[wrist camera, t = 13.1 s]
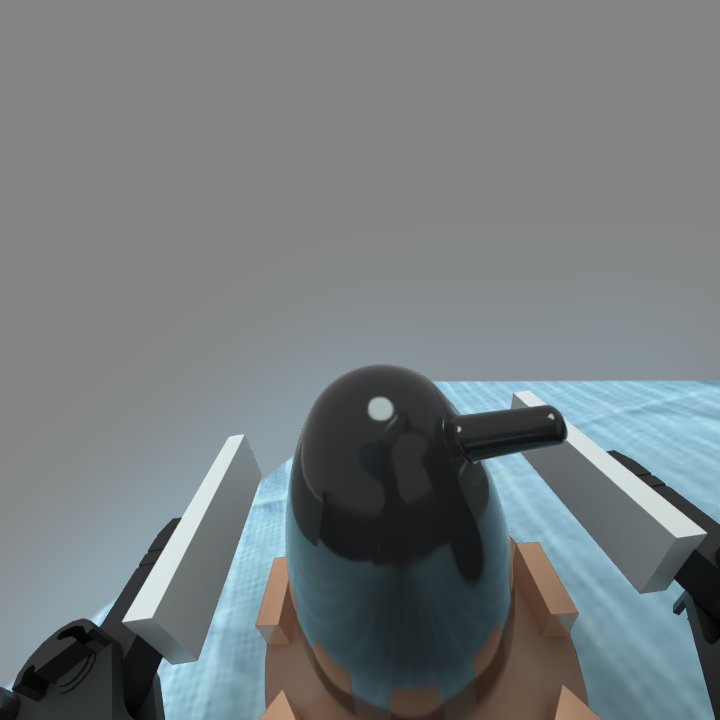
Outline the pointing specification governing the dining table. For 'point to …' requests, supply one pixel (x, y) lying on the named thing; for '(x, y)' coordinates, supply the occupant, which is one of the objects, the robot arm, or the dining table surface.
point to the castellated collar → (522, 675)
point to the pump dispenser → (405, 545)
